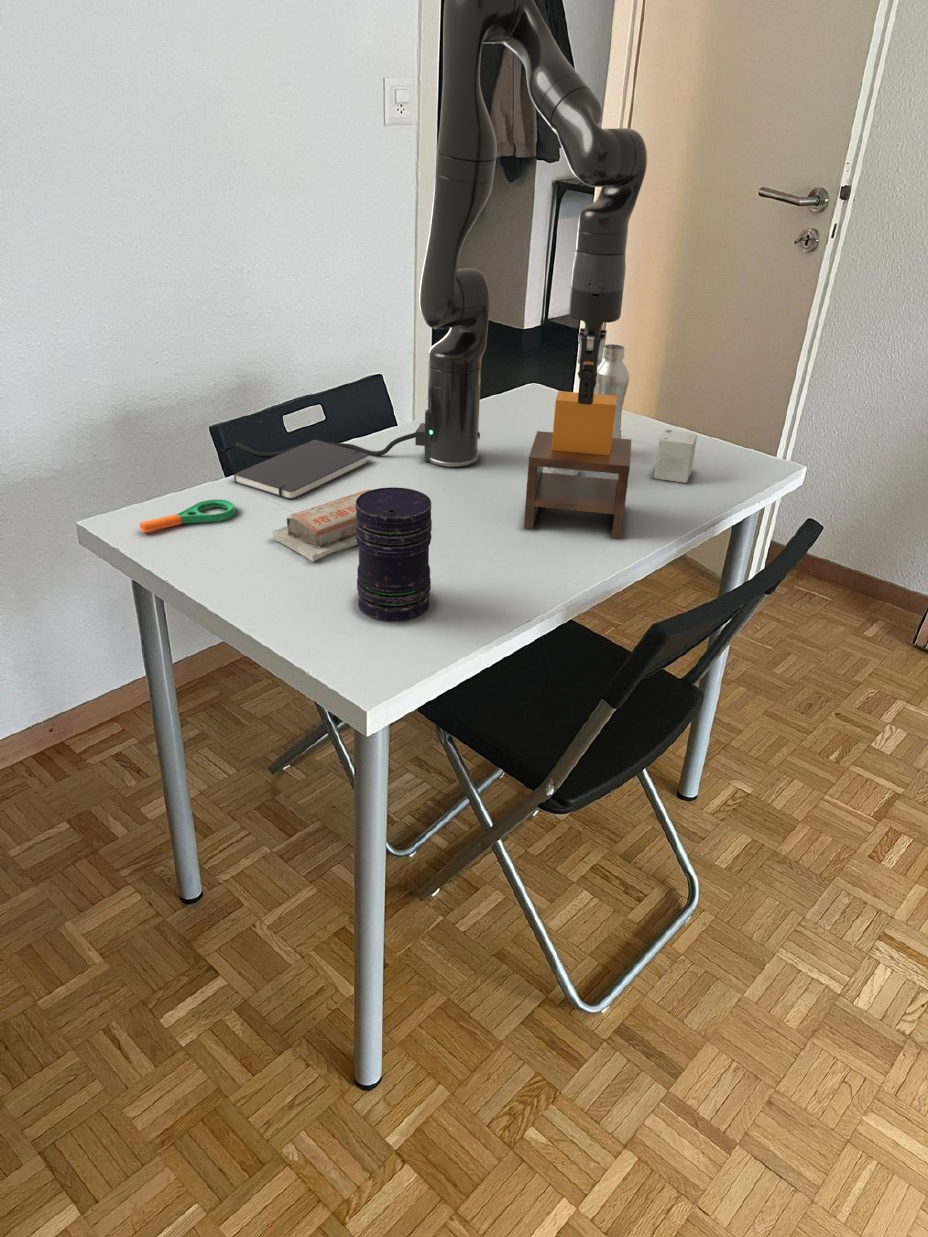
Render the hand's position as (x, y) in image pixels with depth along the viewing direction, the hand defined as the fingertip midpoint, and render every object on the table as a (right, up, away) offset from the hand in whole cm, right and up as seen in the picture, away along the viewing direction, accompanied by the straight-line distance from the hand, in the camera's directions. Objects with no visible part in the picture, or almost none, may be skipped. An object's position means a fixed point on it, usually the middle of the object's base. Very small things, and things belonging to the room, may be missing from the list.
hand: (586, 395), depth 148 cm
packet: (0, -7, +4) cm, 8 cm away
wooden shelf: (-1, -18, +10) cm, 20 cm away
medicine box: (-1, -10, +24) cm, 26 cm away
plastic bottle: (+7, -3, +36) cm, 37 cm away
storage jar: (-28, -32, -16) cm, 45 cm away
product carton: (+19, -8, +28) cm, 35 cm away
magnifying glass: (-62, -19, +5) cm, 64 cm away
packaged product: (-38, -21, +2) cm, 43 cm away
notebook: (-47, -8, +23) cm, 53 cm away
